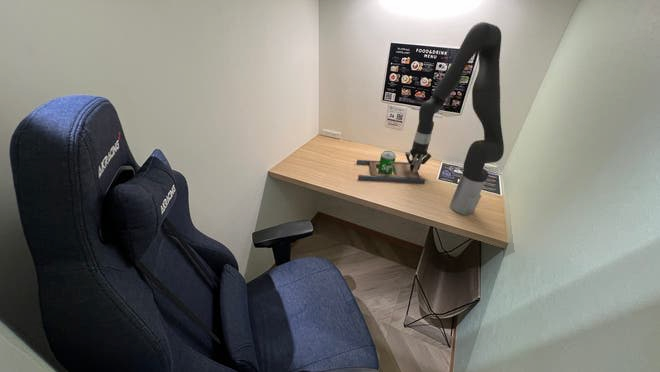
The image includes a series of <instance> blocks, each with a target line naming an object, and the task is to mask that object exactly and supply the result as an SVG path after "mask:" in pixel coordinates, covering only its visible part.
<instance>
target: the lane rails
mask: <svg viewBox="0 0 660 372" xmlns="http://www.w3.org/2000/svg"><path fill="white" fill-rule="evenodd" d="M370 162H378V163H380V160H367V159H356V165H360V166H369V164H370ZM394 163H396V164H409V163H408V162H402V161H401V162H400V161H395V162H394ZM357 180H358V181H366V182H382V183H383V182H386V183H404V184H419V185H425V183H426V178H421V177H420V178H404V177H386V176H371V175H365V174H358V177H357Z"/></svg>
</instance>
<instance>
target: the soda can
mask: <svg viewBox="0 0 660 372" xmlns="http://www.w3.org/2000/svg"><path fill="white" fill-rule="evenodd" d="M396 158H397V156H396V154H395V152H394V151H392V150H384V151H382V152H381V154H380V159H379V161H380V164H379V167H378V170H377V172H378V174H391V175H393V172H394V170H393V167H394V162H396Z"/></svg>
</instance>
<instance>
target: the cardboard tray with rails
mask: <svg viewBox="0 0 660 372" xmlns="http://www.w3.org/2000/svg"><path fill="white" fill-rule="evenodd" d="M379 164H380V163H378V162H370V164H369V165H368V166H369V170H370V171H369V173H370V176H386V177H404V178H421V175H420V173H419V170H418V166H419V162H418V159H416V161H415V163H414V168H413V171H411V170H410V165H411V164H396V163H394V167H393V172H394V174H380V173H378V170H377V168H379ZM417 170H418V171H417Z"/></svg>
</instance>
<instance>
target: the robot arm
mask: <svg viewBox="0 0 660 372" xmlns="http://www.w3.org/2000/svg"><path fill="white" fill-rule="evenodd" d="M501 47H502V31H501V29H500V27H499V26H497V25H495V24H491V23H489V22H485V21H481V22H478V23H476V24H474V25H473V26H472V27H471V28H470V29H469V31H468V32H467V34H466V35H465V38H464V39H463V41H462V43H461V45H460V47H459V49H458V51H457V53H456V55H455V56H454V58H453V60H452V61H451V64H450V66H449V67H448V69H446V72H445V73H444V75H443V76H442V77H441V78H440V80H439V82H438V83H437V85H436V86H435V88H434V90H433V93H432V95H431V97H430V98H429V99H427V100H425V101H423V103H422V104H421V105H420V108H419V113H418V125H417V129H416V132H415V135H414V139H413V143H412V147H411V149H410V150H409V151H408V152H407V151H405V153H404V154H405V157H406V160H407V163H409V164H411V165H410V170H411V171H413V168H414V163H415V161H416V159H417V160H418V162H419V166H418V170H417V171H418V172H419V170H420V168H421V165H425V164H427V162H428V161H429V160H430V158H432V155H431V153H429V152H428V149H429V145H430V143H431V139H432V133H433V130H434V126H435V122H434V120H433V119H434V115H436V114H437V113H439V111H440V110H441V109H442V108H443V106H444V105H445V103H446V102H447V100H448V98H450V96H451V94H452V93H453V92H454V91H455V89H456V88H457V87H458V85H459V84H460V82H461V79H462V77H463V74H464V71H465V69H466V67H467V64H468V63H469V62H470V60H471V59H472V58H473V56H475V54H476V53H477V54H478V70H477V75H476V77H475V79H474V82H473V84H472V88H471V89H472V90H471V102H472V104H471V105H472V109H473V111H474V114H475V115H476V117H477V118H478V120H479V122H480V123H481V125H482V128H483V135H484V136H483V138H484V139H480V140H475V141H473V142H472V143H471V144H470V146H469V148H468V150H467V152H466V155H465V156H466V157H465V159H464V163H463V166H462V167H463V169H462V170H463V171H462V173H461V176H460V178H459V181H458V183H457V186H456V188H455V191H454V194H453V196H452V199H451V202H450V204H449V207H450V209H451V210H452V211H454V212H456V213H457V214H459V215H462V216H464V217H465V216H467V215H470V214H473V213H475V210H476V208H477V206H478V204H479V202H480V200H481V197H482V195H481V192H482V190H483V188H484V186H485V183H486V181H487V180H488V177H489V172H488V171H487V170H486V169H485V168H484V167H485V166H486V165H485V164H492V163H497V162H499V161H500V160H501V159H502V158H503V156H504V152H505V145H504V138H503V130H502V129H503V128H502V119H501V117H502V116H501V114H502V113H501V83H500V82H501V78H500V77H501V76H500V75H501V74H500V73H501V72H500V71H501V70H500V58H501ZM410 156H411V157H410ZM410 158H411V159H410Z"/></svg>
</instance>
